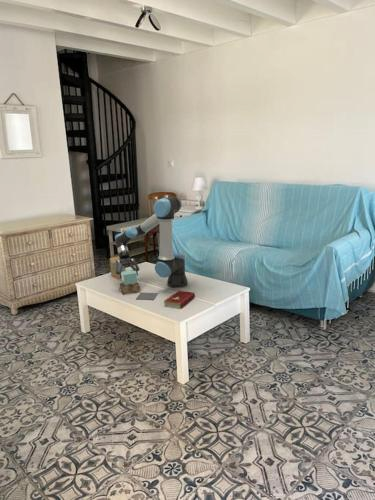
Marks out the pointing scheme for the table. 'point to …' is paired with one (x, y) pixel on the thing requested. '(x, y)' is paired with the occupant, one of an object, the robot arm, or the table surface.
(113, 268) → the sandwich container
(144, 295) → the mat
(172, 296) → the hardcover book
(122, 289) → the walnut box
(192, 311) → the table surface
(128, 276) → the mint green cube
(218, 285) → the table surface
